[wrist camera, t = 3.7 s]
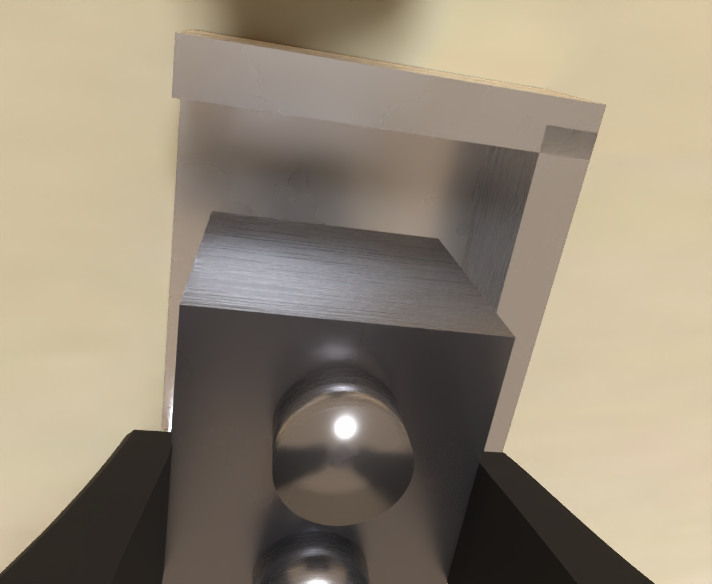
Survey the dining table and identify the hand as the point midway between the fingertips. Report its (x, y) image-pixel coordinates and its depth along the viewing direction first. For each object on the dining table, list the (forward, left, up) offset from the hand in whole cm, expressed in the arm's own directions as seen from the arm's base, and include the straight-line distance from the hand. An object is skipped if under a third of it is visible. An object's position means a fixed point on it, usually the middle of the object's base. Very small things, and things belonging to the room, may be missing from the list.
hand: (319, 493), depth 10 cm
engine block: (0, 0, -4) cm, 4 cm away
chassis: (+1, -7, -9) cm, 11 cm away
